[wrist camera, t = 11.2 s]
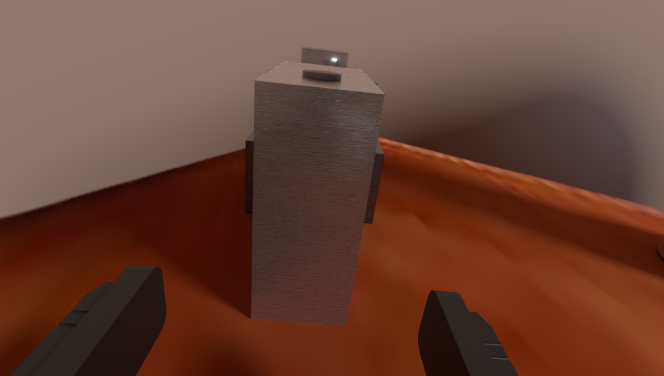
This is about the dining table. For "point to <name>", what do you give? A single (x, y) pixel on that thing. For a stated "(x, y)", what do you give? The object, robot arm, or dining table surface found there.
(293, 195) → the block
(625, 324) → the dining table surface
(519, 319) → the dining table surface
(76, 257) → the dining table surface
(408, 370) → the dining table surface
